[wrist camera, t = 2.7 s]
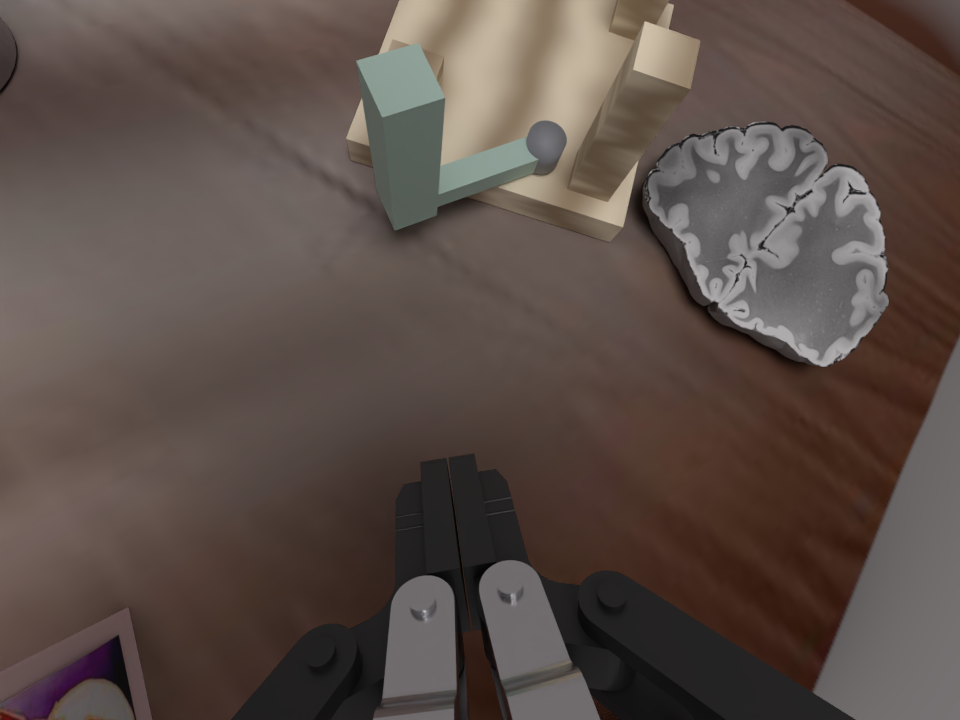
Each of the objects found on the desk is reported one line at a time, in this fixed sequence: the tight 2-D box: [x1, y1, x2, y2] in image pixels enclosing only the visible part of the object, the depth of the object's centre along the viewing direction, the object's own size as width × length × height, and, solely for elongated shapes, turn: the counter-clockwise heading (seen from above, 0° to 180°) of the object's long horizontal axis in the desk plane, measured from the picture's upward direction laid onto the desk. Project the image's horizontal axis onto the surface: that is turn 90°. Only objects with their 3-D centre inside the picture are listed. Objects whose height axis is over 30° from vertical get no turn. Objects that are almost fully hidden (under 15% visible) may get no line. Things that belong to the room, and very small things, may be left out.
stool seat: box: [346, 0, 700, 242], centre depth 32 cm, size 20×20×14 cm
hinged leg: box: [356, 43, 567, 231], centre depth 28 cm, size 13×3×11 cm, turn 115°
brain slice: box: [642, 122, 889, 367], centre depth 38 cm, size 20×17×3 cm
